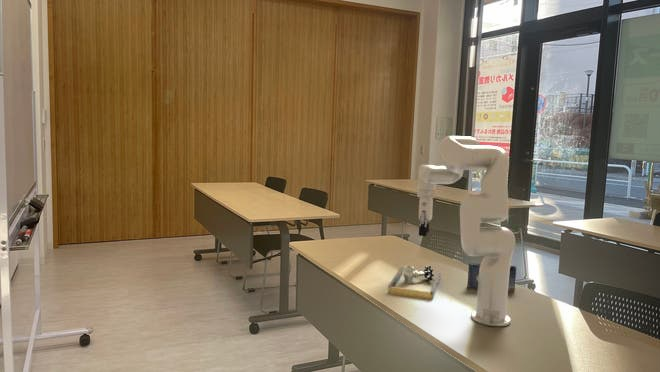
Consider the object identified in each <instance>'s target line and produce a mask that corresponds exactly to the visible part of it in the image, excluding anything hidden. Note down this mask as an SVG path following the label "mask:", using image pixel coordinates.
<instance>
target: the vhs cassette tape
mask: <svg viewBox="0 0 660 372" xmlns="http://www.w3.org/2000/svg"><path fill="white" fill-rule="evenodd" d="M480 265H481V263H475V262H474V263H473V262H468V272H467V282H466V283H467V284H466V285H467V288H468V289H471V290H478V282H479V269H480ZM516 275H517V267H516V266H515V265H510V273H509V284H508V292H515V289H516V277H517V276H516Z"/></svg>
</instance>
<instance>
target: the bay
mask: <svg viewBox="0 0 660 372" xmlns="http://www.w3.org/2000/svg"><path fill="white" fill-rule="evenodd" d="M441 273H442V272H441V271H438V272H437V274H436V276H435V279H434V282H433V285H432V287H431V289H430V291H425V290H419V289H413V288H412V289H410V288H404V287H397V284H398V282H399V281H400V279H401V278H402V276H404V267H403V266H402V267H400V268H399V269H398V271H397V272H396V274H395V275H394V277H393V278H392V280H391V281H390V282H389V284H388V285H387V294H391V295H396V296H397V295H398V296H404V297H411V298H418V299H427V300H433V299H434V297H435V295H436V291H437V289H438V286H439V283H440V280H441ZM433 301H434V300H433Z"/></svg>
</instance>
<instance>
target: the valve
mask: <svg viewBox="0 0 660 372" xmlns="http://www.w3.org/2000/svg"><path fill="white" fill-rule="evenodd" d="M404 268H405V269H404V271H403V278H404V282H403V283H405V284H413V280H414V279H417V278H419V277H423V276H424V278H425V279H426V281H427V282H431V281H433V277H434V276H435V274H434V273H433V271H434V269H433V268H432V267H431V265H425V267H424V268H425V269H423V271H418V270H414V266H412V265H405V266H404Z"/></svg>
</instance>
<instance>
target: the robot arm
mask: <svg viewBox="0 0 660 372" xmlns="http://www.w3.org/2000/svg"><path fill="white" fill-rule="evenodd" d="M438 152H439V155H440V156H441V160H442V164H443V165H433V164H421V165H419V167H418V177H417V193H416V194H417V195H416V196H417V197H418V198H419V203H418V204H419V205H418V220H419V227H418V236H419V237H427V235H428V233H429V231H430V221H431V220H432V219H433V209H434V208H433V207H434V206H433V204H434V202H433V199H435V198H436V188H437V186H436V185H451V184H454V183H456V182H457V181H459V180H460V179H461V178H462V177H463V175H464V171H485V172H484V173H483V175H482V177H481V179H480V193H470V194H467V195H465V196H464V197H463V198H462V200H461V201H460V206H459V226H460V230H459V231H460V242H461V243H460V244H461V248H462V251H463V253H464V254H465V255H467V256H469V257H483V259H482V260H481V263H480V264H481V265H480V269H479V282H478V289H477V295H476V296H477V298H476V309H475V310H473V311H472V312H471V315H470V317H471V319H472V320H474V321H475V322H477V323H479V324H482V325H485V326H491V327H505V326H509V325H510V324H511V317H510V316H509V315H508V314H507V306H508V297H509V296H508V295H509V293H508V292H509V291H508V284H509V273H510V266H511V263H512V258H513V254H514V251H515V248H516V236H515V233H513V231H512V230H510V229H509V228H507V227H504V226H481V224H483V223H484V224H485V223H488V224H492V223H494V224H495V223H502V222H504V221H506V220H507V219H508V216H509V207H510V206H509V192H508V188H509V187H508V174H509V170H510V159H509V158H510V157H509V155H508V152H507V151H506V150H505V149H503V148H502V147H499V146H496V145H495V146H494V145H481V144H480V141H478V139H476V138H475V137H472V136H468V135H467V136H466V135H465V136H464V135H462V136H461V135H447V136H445V137H443V138H442V140H441V141H440V143H439V145H438Z"/></svg>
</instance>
